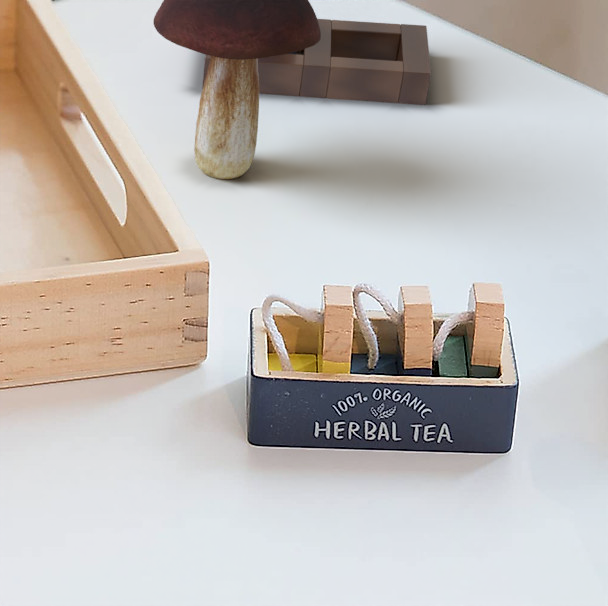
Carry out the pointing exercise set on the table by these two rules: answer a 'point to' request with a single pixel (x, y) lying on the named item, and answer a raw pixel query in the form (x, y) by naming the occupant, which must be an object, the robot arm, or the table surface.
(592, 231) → the table surface
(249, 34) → the decorative mushroom
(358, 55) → the rack
